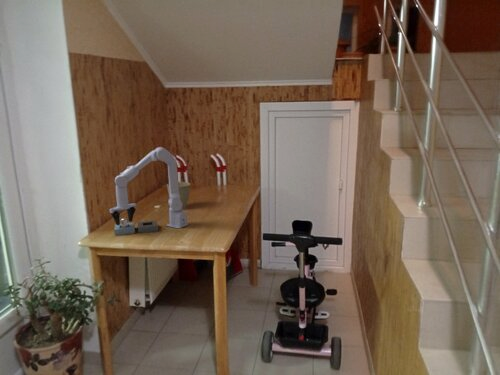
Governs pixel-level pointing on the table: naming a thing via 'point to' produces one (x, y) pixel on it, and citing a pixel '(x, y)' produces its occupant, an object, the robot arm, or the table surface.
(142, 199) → the table surface
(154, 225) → the charcoal stand
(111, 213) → the robot arm
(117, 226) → the block
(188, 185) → the plant pot
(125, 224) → the aluminium peg
